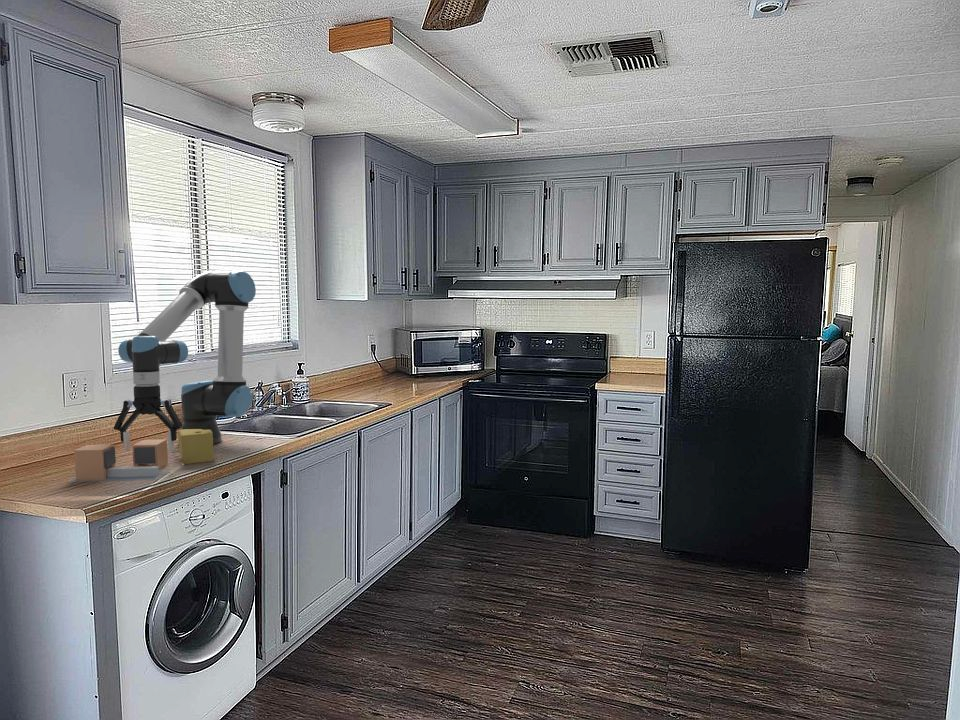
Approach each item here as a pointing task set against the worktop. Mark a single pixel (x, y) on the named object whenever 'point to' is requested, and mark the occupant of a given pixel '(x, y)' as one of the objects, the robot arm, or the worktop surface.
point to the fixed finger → (94, 461)
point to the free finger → (150, 453)
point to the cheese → (196, 445)
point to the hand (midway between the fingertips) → (149, 451)
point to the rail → (130, 473)
